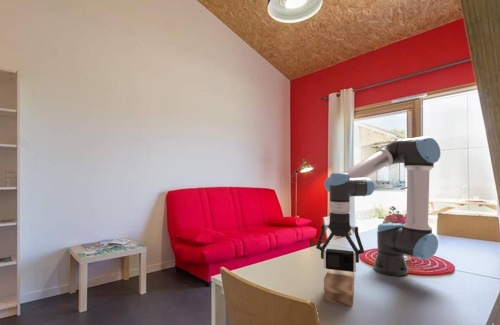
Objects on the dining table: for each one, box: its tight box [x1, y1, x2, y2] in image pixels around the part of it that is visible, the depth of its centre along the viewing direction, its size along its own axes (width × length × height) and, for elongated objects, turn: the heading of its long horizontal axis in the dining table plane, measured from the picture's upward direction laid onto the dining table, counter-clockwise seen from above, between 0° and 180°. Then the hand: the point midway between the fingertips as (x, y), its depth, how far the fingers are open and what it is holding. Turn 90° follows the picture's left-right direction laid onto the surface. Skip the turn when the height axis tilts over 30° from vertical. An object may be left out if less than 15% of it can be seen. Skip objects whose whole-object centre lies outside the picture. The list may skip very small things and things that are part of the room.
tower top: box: [323, 269, 355, 296], centre depth 112 cm, size 10×12×4 cm
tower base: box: [324, 287, 355, 307], centre depth 112 cm, size 10×12×4 cm
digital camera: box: [325, 248, 355, 273], centre depth 112 cm, size 10×5×7 cm, turn 70°
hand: (339, 268), depth 112 cm, fingers closed on digital camera, 10 cm apart
